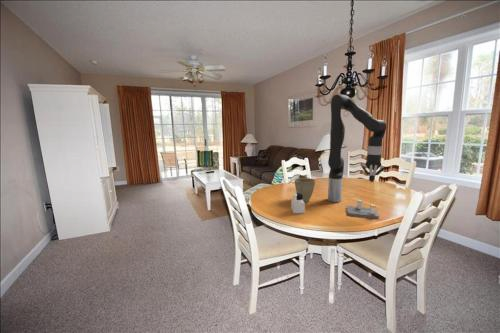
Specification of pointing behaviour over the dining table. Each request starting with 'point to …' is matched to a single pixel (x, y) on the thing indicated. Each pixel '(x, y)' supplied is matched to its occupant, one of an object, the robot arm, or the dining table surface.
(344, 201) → the dining table surface
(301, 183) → the plant pot
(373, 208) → the fader
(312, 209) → the dining table surface
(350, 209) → the console
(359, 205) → the block
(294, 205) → the medicine bottle
